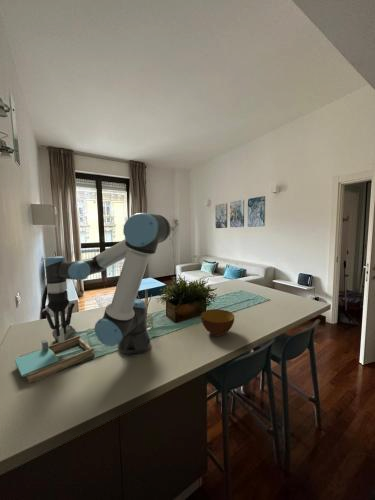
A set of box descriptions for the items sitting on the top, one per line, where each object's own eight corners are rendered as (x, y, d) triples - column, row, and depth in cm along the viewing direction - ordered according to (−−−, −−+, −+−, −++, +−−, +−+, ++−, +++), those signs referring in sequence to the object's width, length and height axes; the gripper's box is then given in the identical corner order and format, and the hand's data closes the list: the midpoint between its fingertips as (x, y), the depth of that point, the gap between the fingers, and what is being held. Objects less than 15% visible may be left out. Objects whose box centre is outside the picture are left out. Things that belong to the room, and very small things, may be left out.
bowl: (237, 329, 121) (237, 312, 120) (229, 345, 105) (229, 325, 104) (207, 323, 129) (207, 307, 128) (195, 337, 113) (195, 318, 112)
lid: (58, 362, 88) (57, 351, 88) (22, 377, 79) (20, 365, 79) (48, 348, 98) (47, 338, 98) (14, 360, 89) (13, 349, 89)
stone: (65, 317, 115) (55, 325, 105) (80, 328, 116) (73, 337, 106) (53, 331, 115) (42, 340, 105) (69, 342, 116) (60, 352, 106)
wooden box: (94, 355, 98) (93, 348, 97) (29, 383, 80) (28, 374, 80) (79, 341, 109) (79, 335, 109) (20, 363, 92) (19, 356, 91)
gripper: (70, 286, 104) (73, 333, 107) (38, 292, 95) (42, 344, 97) (76, 289, 99) (79, 338, 102) (42, 296, 90) (47, 350, 92)
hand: (61, 341), depth 99 cm, fingers closed
